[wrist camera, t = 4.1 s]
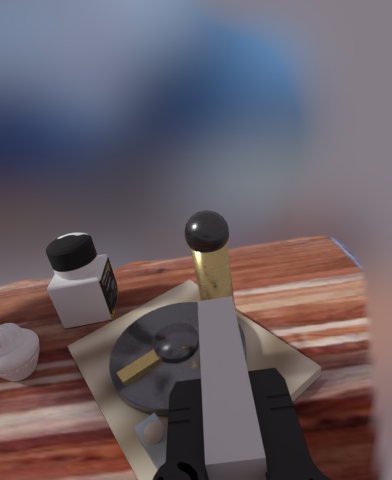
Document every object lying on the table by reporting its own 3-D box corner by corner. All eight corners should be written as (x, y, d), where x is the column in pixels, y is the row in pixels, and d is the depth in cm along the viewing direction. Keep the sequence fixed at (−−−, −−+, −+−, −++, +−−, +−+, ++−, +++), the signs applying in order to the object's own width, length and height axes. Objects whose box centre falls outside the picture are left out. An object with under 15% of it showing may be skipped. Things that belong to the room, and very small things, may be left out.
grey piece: (17, 351, 43) (-6, 310, 40) (58, 351, 42) (38, 308, 38) (-17, 392, 37) (-46, 348, 34) (29, 393, 36) (3, 348, 33)
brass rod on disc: (92, 353, 38) (37, 218, 30) (193, 294, 45) (169, 173, 37) (154, 451, 27) (91, 278, 19) (276, 353, 34) (266, 197, 26)
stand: (70, 352, 41) (59, 329, 39) (190, 285, 50) (186, 264, 48) (162, 525, 24) (150, 497, 22) (321, 375, 32) (322, 345, 31)
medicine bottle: (113, 320, 45) (87, 246, 40) (63, 330, 45) (30, 256, 40) (119, 291, 52) (98, 223, 46) (76, 299, 52) (49, 232, 46)
